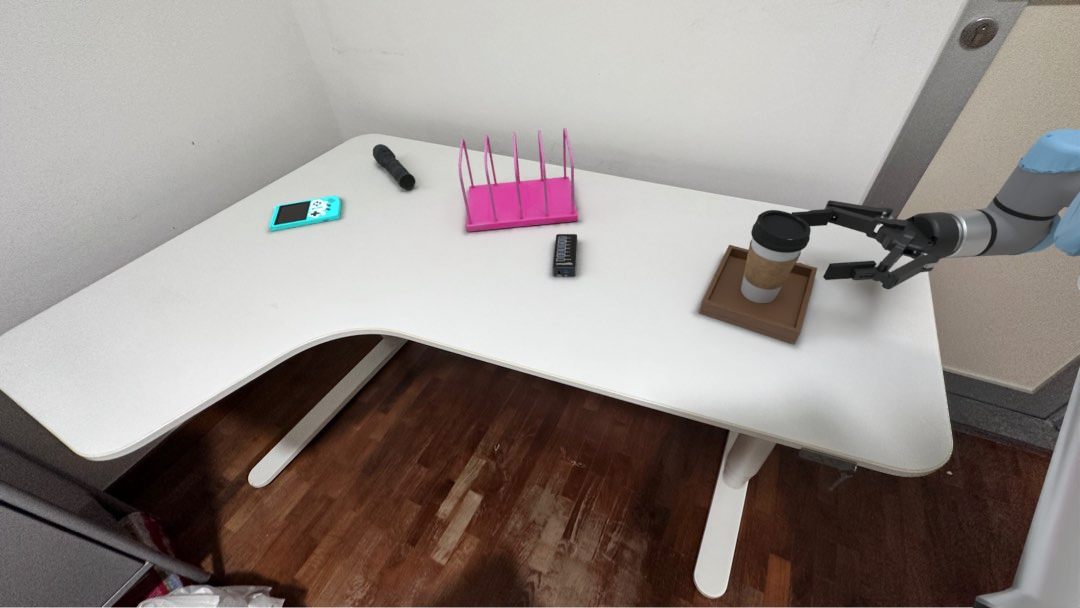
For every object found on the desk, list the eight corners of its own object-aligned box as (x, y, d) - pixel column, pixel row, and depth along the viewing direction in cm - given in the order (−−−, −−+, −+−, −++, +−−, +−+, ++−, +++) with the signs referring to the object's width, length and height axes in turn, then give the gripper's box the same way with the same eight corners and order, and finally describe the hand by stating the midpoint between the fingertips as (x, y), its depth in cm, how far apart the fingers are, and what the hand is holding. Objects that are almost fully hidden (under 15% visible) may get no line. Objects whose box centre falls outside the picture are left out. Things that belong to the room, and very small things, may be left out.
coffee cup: (742, 270, 86) (764, 202, 75) (789, 286, 82) (820, 217, 72) (726, 297, 81) (747, 228, 71) (775, 315, 78) (806, 245, 67)
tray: (794, 344, 74) (800, 332, 72) (698, 313, 80) (701, 301, 78) (811, 280, 84) (817, 267, 82) (725, 256, 91) (729, 244, 89)
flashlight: (391, 157, 130) (386, 141, 127) (419, 187, 118) (414, 170, 114) (375, 163, 129) (369, 146, 125) (401, 194, 116) (395, 176, 112)
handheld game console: (339, 219, 109) (337, 214, 108) (270, 232, 108) (267, 227, 107) (342, 198, 116) (340, 193, 115) (277, 209, 115) (274, 204, 114)
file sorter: (578, 222, 102) (577, 157, 91) (466, 233, 102) (452, 169, 91) (569, 182, 114) (567, 120, 103) (470, 191, 114) (457, 131, 103)
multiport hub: (577, 242, 97) (577, 233, 95) (575, 276, 89) (575, 267, 88) (556, 242, 98) (556, 233, 96) (553, 276, 90) (552, 267, 88)
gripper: (982, 306, 67) (835, 315, 68) (886, 211, 85) (771, 219, 85) (1016, 268, 62) (857, 278, 62) (907, 175, 79) (783, 183, 80)
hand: (807, 244), depth 74 cm, fingers open, 13 cm apart
